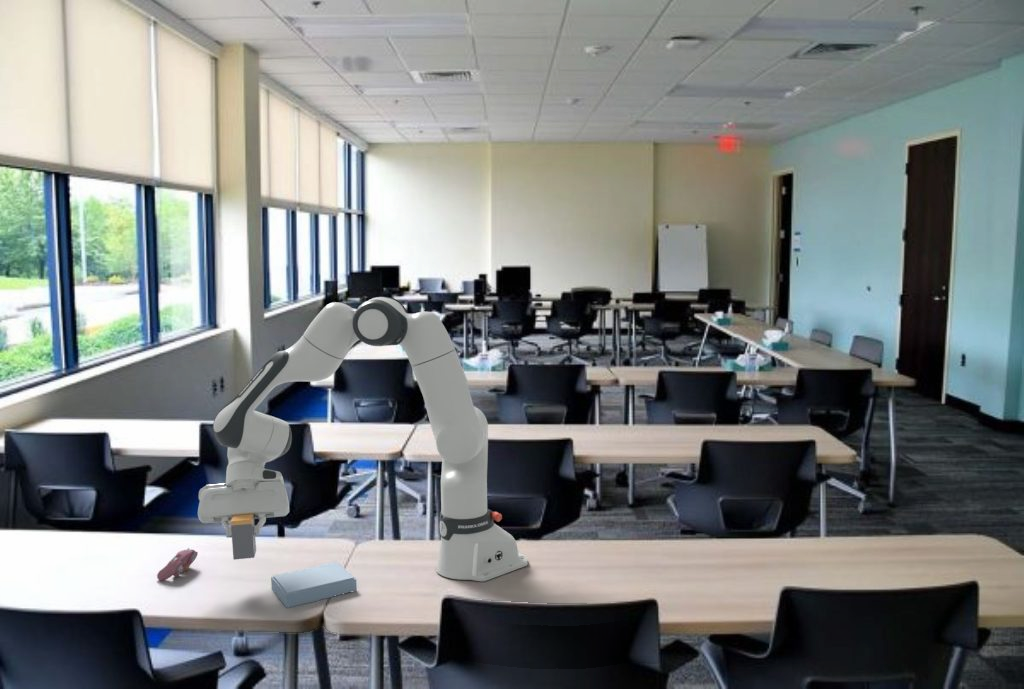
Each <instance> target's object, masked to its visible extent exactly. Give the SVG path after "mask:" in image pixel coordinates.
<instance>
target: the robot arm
mask: <svg viewBox="0 0 1024 689" xmlns="http://www.w3.org/2000/svg"><path fill="white" fill-rule="evenodd" d="M358 341H361V342H362V343H363V344H366V345H367V346H368V345H369V346H372V347H386V346H398V345H400V347H402V349H403V350H404V352H405V354H406V356H407V359H408V361H409V363H410V367H411V369H412V371H413V374H414V378H415V380H416V381H417V385H418V387H419V390H420V392H421V394H422V397H423V402H424V404H425V408H426V412H427V417H428V420H429V424H430V428H431V430H432V435H433V437H434V441H435V444H436V449H437V452H438V455H440V457H441V460H442V461H441V462H442V463H441V475H440V503H441V505H440V507H441V509H440V510H441V511H439V534H440V546H439V553H438V559H437V562H436V566H435V571H436V572H437V574H439V575H440V576H442V577H444V578H449V579H452V580H464V581H465V580H466V581H467V580H469V581H476V582H486V581H488V580H491V579H494V578H496V577H500V576H503V575H505V574H507V573H510V572H513V571H515V570H518V569H521V568H524V567H526V566H528V559H527V557H526V556H525V554H523V553H522V552H521V551H519V549H518V548H519V547H518V544H517V541H516V539H515V538H514V536H513V535H512V534H510V533H509V532H508V531H506V530H504V529H503V528H502V527H500V526H499V525H497V524H496V523H495V522H498V523H499V522H500V521H501V520H502V519H503V516H502V515H503V514H501V513H499V512H498V511H493V510H491V509H489V508H488V482H487V481H488V453H489V450H488V449H489V423H488V420H487V417H486V416H485V413H484V412H483V411H482V410H481V409H479V408H478V407H476V406H474V403H473V399H472V396H471V392H470V387H469V383H468V379H467V377H466V374H465V371H464V368H463V366H462V363H461V361H460V358H459V355H458V352H457V350H456V348H455V346H454V344H453V341H452V339H451V337H450V335H449V332H448V331H447V329H446V327H445V325H444V324H443V322H442V320H441V319H440V317H439V316H438V315H437V314H435V313H434V312H431V311H419V312H416V313H415V312H414V313H408V310H407V308H406V307H405V305H404V304H403V303H402V302H400V300H398V299H396V298H394V297H389V296H378V297H377V296H376V297H373V298H371V299H368V300H367V301H366V300H365V301H364V302H362V303H361V304H360V305H359V306H358V307H357V308H353V307H352V306H350V305H348V304H346V303H344V302H336V301H333V302H330V303H328V304H326V305H325V306H324V307H323V308H322V309H321V310H320V311H319V313H318V314H317V315H316V316H315V317H314V319H312V321H311V323H309V325H308V326H307V328H306V330H305V331H304V332H303V334H302V335H301V337H300V338H299V339H298V340H297V341H296V342H295V343H294V344H293V345H291V346H290V347H288V348H287V349H285V350H284V349H283V350H279V351H277V352H275V353H274V354H273V355H272V356H271V357H270V358H269V359H267V360H266V362H265V363H264V364H263V365H262V366H261V367H260V368H259V369H258V371H257V372H255V373H254V375H253V376H252V377H251V378H250V380H248V382H247V383H246V384H245V385H244V387H243V388H242V389H241V390H240V391H239V392H238V393H237V394H236V396H235V397H234V398H233V399H232V400H230V401H229V402H228V403H227V404H226V405H224V407H222V408H221V409H220V410H219V412H218V413H217V414H216V416H215V418H214V419H213V423H212V432H213V435H214V437H215V439H216V442H218V444H219V445H220V446H221V447H227V455H226V457H227V460H228V462H227V463H228V464H227V466H226V472H225V473H226V474H225V483H224V482H221V483H216V484H206V485H205V486H203V487H202V488H200V489H199V491H198V500H199V503H198V508H197V517H198V520H199V521H200V522H201V523H202V524H209V523H211V524H212V523H221V524H222V526H223V528H224V530H225V538H229V539H230V538H232V532H231V527H230V526H229V524H230V522H231V519H232V517H233V515H243V514H254V520H256V519H257V520H259V521H257V524H256V525H255V524H254V526H253V534H254V535H255V536H260V535H261V532H262V531H261V529H262V528H263V526H265V523H266V521H267V518H277V517H286V516H287V515H288V514H289V513H290V504H289V503H290V502H289V497H288V491H287V488H286V485H285V482H284V477H283V475H282V473H281V471H278V470H274V469H273V470H272V469H268V468H265V465H266V463H271V462H273V461H275V460H276V459H278V458H280V457H282V456H284V455H285V454H286V453H288V451H289V450H290V448H291V445H292V440H293V436H292V435H293V434H292V429H291V426H290V424H289V422H288V421H286V420H283V419H281V418H278V417H275V416H272V415H269V414H266V413H263V412H260V411H257V410H255V409H257V407H258V406H259V405H260V404H261V403H262V402H263V401H264V399H265V398H266V397H267V396H268V395H269V394H270V393H271V391H272V390H273V389H274V388H276V387H278V386H279V385H282V384H286V383H293V382H294V383H295V382H318V381H323V380H326V379H328V378H330V377H332V376H333V374H334V373H336V371H337V370H338V369H339V368H340V366H341V364H342V362H343V361H344V360H345V358H346V356H347V355H348V353H349V352H350V349H351V348H352V347H353V346H354V345H355V344H356V342H358Z"/></svg>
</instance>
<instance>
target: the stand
mask: <svg viewBox="0 0 1024 689" xmlns="http://www.w3.org/2000/svg"><path fill="white" fill-rule="evenodd" d="M270 578H271V581H270V582H271V584H270V585H271V589H272V591H273V592H274V593H275V595H276V596H277V597H278V598H279V600H280V601H281V603H284V604H283V605H284V606H285V607H286V608H287V609H288V608H292V607H296V606H300V605H304V604H308V603H313V602H317V601H321V599H322V600H325V598H326V599H330V598H334V597H336V596H335V595H338V596H341V595H340V594H342V595H344V594H343V593H347V592H351V591H355V590H357V586H358V585H357V579H356V577H355V576H353V575H352V573H351V572H349V571H348V570H347V569H346V568H345V567H344V566H343V565H341V563H339V562H338V561H335V562H334V561H333V562H329V563H325V564H319V565H315V566H311V567H306V568H302V569H297V570H292V571H288V572H287V571H286V572H283V573H279V574H275V575H273V576H271V577H270ZM355 592H356V591H355ZM351 593H352V592H351ZM347 594H348V593H347ZM333 596H334V597H333Z"/></svg>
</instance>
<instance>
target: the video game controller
mask: <svg viewBox="0 0 1024 689" xmlns="http://www.w3.org/2000/svg"><path fill="white" fill-rule="evenodd" d="M198 555H199V554H198V551H196V550H194V549H192V548H190V547H188V548H187V549H184V550H179V551H178V552H177V553H176V554H175V556H173V557H172V558H171V559H170V561H168V563H167V564H166V565H165V566H164V567H163V568H162V569H160V570H159V571H158V573H157V575H156V576H157V580H158V581H160V582H161V581H167V580H168V579H169V578H171V577H172V576H173V577H175V578H178V577H179V576H180V575H181V574H182V572H183V573H186V571H188V570H189V569H190V566H191V565H192V564H193V563H194V562H195V560H196V559H197V557H198Z"/></svg>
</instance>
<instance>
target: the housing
mask: <svg viewBox="0 0 1024 689" xmlns="http://www.w3.org/2000/svg"><path fill="white" fill-rule="evenodd" d="M254 525H255V519H254V514H243V515H233V517H232V519H231V521H230V528H231V532H232V537H231V543H232V555H233V558H232V559H233V560H245V559H254V558H255V556H256V552H257V545H256V544H257V543H256V542H257V541H256V535H254V534H253V526H254Z"/></svg>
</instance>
